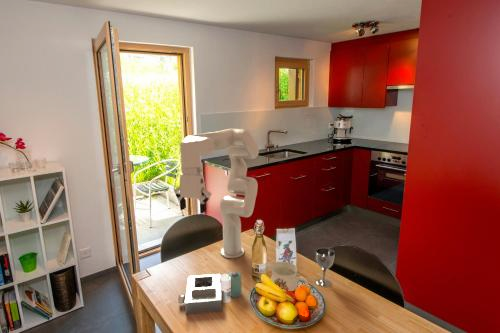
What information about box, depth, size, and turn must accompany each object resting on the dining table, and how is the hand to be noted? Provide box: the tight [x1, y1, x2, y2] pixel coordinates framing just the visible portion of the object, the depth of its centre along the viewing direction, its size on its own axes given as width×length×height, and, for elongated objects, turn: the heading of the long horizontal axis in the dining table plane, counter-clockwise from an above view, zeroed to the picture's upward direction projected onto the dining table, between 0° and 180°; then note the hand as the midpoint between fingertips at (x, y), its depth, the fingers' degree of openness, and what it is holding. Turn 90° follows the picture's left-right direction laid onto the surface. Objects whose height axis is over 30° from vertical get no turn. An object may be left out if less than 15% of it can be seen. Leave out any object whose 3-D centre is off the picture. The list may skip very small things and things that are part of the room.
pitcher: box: [265, 261, 309, 291], centre depth 128 cm, size 11×18×14 cm, turn 67°
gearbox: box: [178, 273, 223, 315], centre depth 129 cm, size 18×17×8 cm
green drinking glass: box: [228, 270, 242, 299], centre depth 131 cm, size 5×5×10 cm
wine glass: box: [315, 247, 336, 288], centre depth 138 cm, size 8×8×15 cm
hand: (193, 210), depth 129 cm, fingers open, 9 cm apart
